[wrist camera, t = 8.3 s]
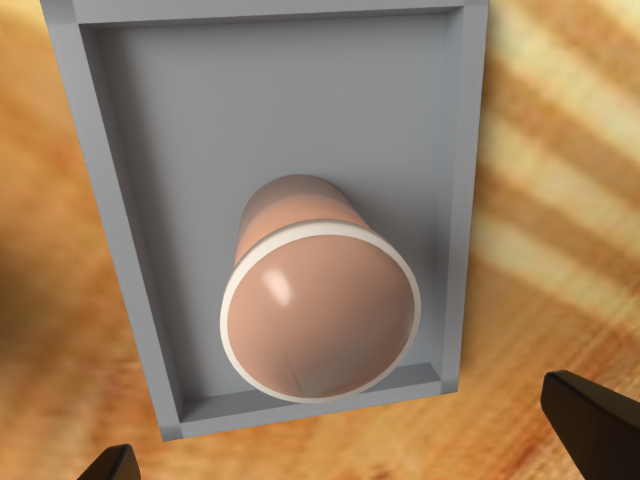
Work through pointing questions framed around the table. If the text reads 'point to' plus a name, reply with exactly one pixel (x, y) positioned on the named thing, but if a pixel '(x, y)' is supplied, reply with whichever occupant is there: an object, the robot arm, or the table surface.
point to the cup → (315, 296)
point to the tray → (271, 166)
